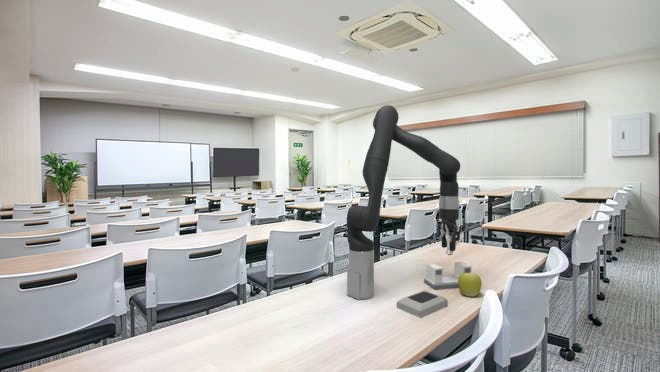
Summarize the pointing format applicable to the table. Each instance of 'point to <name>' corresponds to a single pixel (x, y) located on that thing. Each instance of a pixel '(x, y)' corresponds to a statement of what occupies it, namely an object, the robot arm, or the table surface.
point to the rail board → (444, 283)
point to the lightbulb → (448, 243)
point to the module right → (461, 268)
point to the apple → (469, 284)
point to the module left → (434, 273)
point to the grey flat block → (422, 303)
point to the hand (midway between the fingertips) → (448, 248)
